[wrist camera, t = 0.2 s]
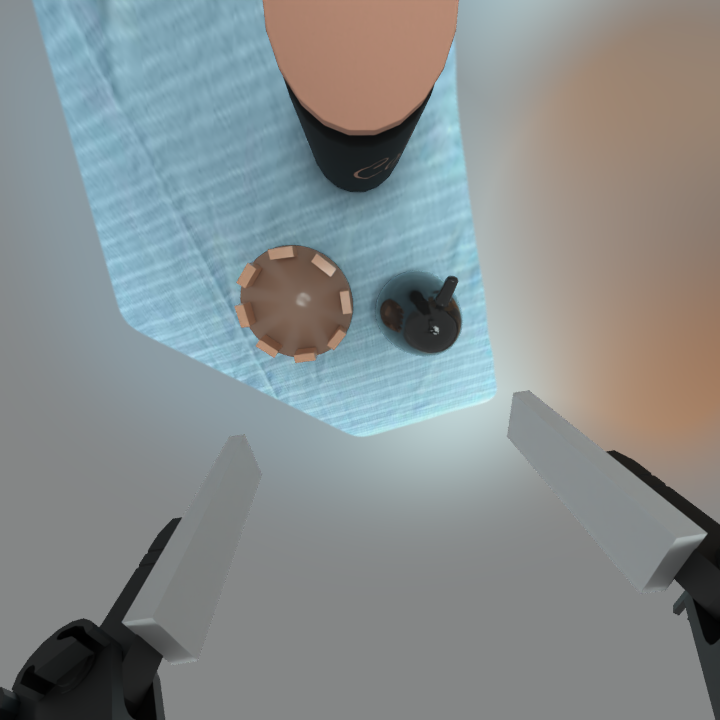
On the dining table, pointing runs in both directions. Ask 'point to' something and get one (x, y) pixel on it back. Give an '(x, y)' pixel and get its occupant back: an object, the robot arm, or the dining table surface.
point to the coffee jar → (360, 76)
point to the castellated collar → (295, 302)
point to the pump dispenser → (420, 313)
